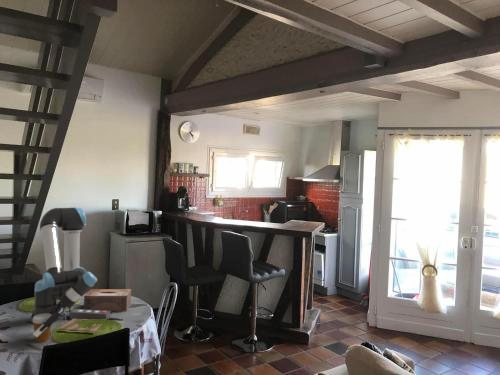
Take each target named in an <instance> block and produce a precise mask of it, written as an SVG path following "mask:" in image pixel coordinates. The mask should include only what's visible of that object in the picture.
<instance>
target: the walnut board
mask: <svg viewBox="0 0 500 375" xmlns="http://www.w3.org/2000/svg"><path fill="white" fill-rule="evenodd" d="M81 320H89V319H70V320H69V321H68V322H66V323H65V324H63V325H61V326H60V327H58V329H57V331H58V330H69V331H92V332H94V331H96V330H97V329H98V328H99V327H100V326H101V325H102V323H101V324H97V325H96V324H94V325H92V327H91V328H88V327H87V328H86V329H85V328H82V327H81V326H78V324H77V322H78V321H81Z"/></svg>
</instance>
